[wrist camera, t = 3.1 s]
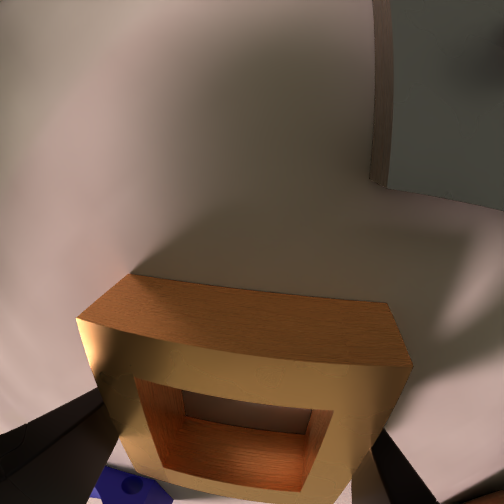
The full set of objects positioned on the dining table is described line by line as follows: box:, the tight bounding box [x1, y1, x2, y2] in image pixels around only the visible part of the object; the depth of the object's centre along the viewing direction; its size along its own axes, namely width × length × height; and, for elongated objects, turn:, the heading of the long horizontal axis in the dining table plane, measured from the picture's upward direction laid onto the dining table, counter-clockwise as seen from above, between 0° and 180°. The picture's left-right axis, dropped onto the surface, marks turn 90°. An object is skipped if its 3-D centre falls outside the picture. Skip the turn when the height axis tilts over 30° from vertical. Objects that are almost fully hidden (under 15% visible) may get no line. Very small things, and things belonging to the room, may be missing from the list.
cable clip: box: [90, 466, 173, 504], centre depth 12 cm, size 12×4×6 cm, turn 101°
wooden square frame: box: [76, 274, 413, 504], centre depth 8 cm, size 7×7×2 cm
